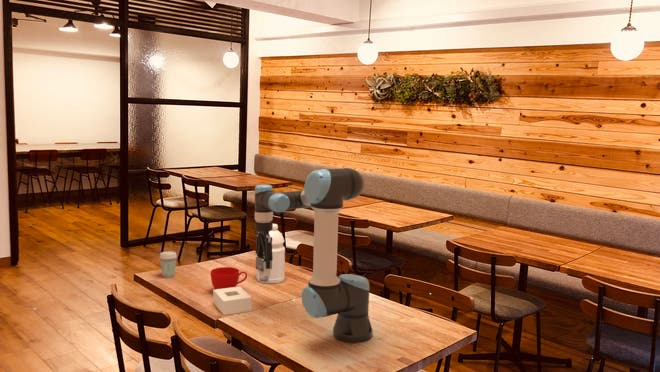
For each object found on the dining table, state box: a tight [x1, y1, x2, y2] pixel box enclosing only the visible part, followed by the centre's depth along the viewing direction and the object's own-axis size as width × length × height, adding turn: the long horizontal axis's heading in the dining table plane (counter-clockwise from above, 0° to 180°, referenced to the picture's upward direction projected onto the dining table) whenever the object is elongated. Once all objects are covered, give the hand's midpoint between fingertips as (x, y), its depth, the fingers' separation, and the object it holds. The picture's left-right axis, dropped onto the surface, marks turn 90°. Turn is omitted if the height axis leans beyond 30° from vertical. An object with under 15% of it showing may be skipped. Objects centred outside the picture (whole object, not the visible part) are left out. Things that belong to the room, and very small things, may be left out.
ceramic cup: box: [210, 266, 248, 290], centre depth 268 cm, size 13×17×10 cm
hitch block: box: [212, 286, 252, 316], centre depth 248 cm, size 16×12×6 cm
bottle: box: [255, 223, 286, 285], centre depth 286 cm, size 14×14×28 cm
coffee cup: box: [158, 251, 178, 279], centre depth 289 cm, size 8×8×12 cm
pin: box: [255, 256, 272, 283], centre depth 249 cm, size 7×7×10 cm
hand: (263, 273), depth 249 cm, fingers closed on pin, 7 cm apart
